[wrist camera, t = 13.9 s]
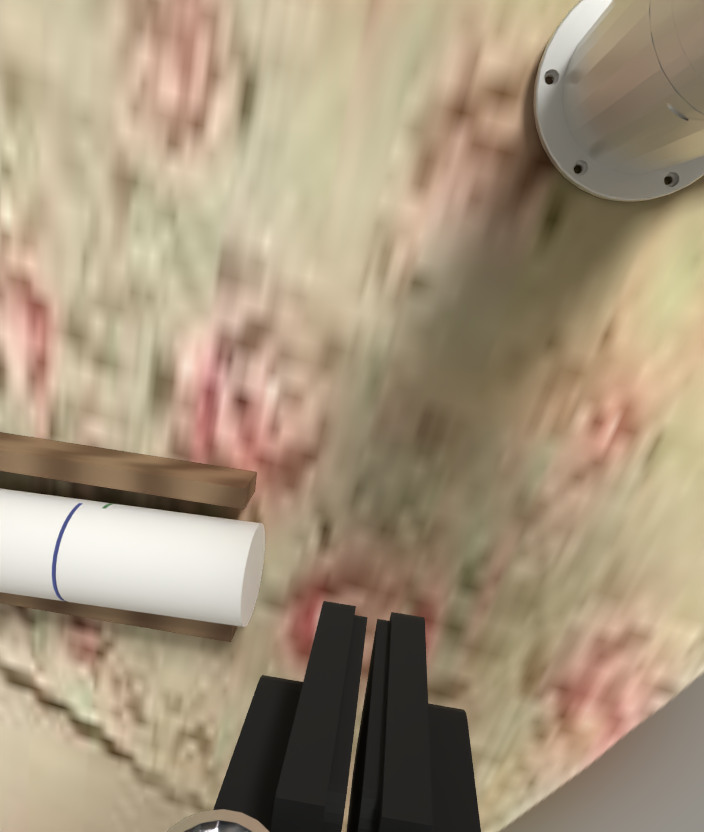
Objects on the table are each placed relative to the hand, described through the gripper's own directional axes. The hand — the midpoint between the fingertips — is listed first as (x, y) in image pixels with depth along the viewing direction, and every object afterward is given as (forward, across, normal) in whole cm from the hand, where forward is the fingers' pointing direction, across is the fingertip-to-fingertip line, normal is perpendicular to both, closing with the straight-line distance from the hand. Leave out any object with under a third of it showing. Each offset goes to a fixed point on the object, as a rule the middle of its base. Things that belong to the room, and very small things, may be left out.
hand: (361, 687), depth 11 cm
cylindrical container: (+32, +8, +16) cm, 36 cm away
